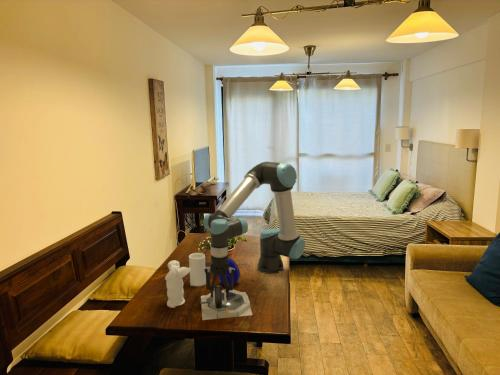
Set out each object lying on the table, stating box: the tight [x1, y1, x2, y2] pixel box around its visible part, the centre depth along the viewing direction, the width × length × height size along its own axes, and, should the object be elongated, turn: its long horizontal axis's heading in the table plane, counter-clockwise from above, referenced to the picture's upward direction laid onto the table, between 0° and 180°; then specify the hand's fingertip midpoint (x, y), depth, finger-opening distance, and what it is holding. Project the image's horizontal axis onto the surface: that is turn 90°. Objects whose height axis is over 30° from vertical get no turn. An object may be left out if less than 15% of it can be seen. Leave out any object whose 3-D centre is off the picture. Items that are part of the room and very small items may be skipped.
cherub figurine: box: [164, 259, 191, 309], centre depth 171 cm, size 12×12×22 cm
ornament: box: [218, 257, 241, 287], centre depth 190 cm, size 11×9×15 cm
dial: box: [208, 284, 243, 311], centre depth 168 cm, size 16×16×12 cm
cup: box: [188, 252, 206, 287], centre depth 191 cm, size 8×8×16 cm
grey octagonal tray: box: [199, 289, 253, 321], centre depth 169 cm, size 23×23×3 cm
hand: (220, 303), depth 164 cm, fingers open, 4 cm apart
